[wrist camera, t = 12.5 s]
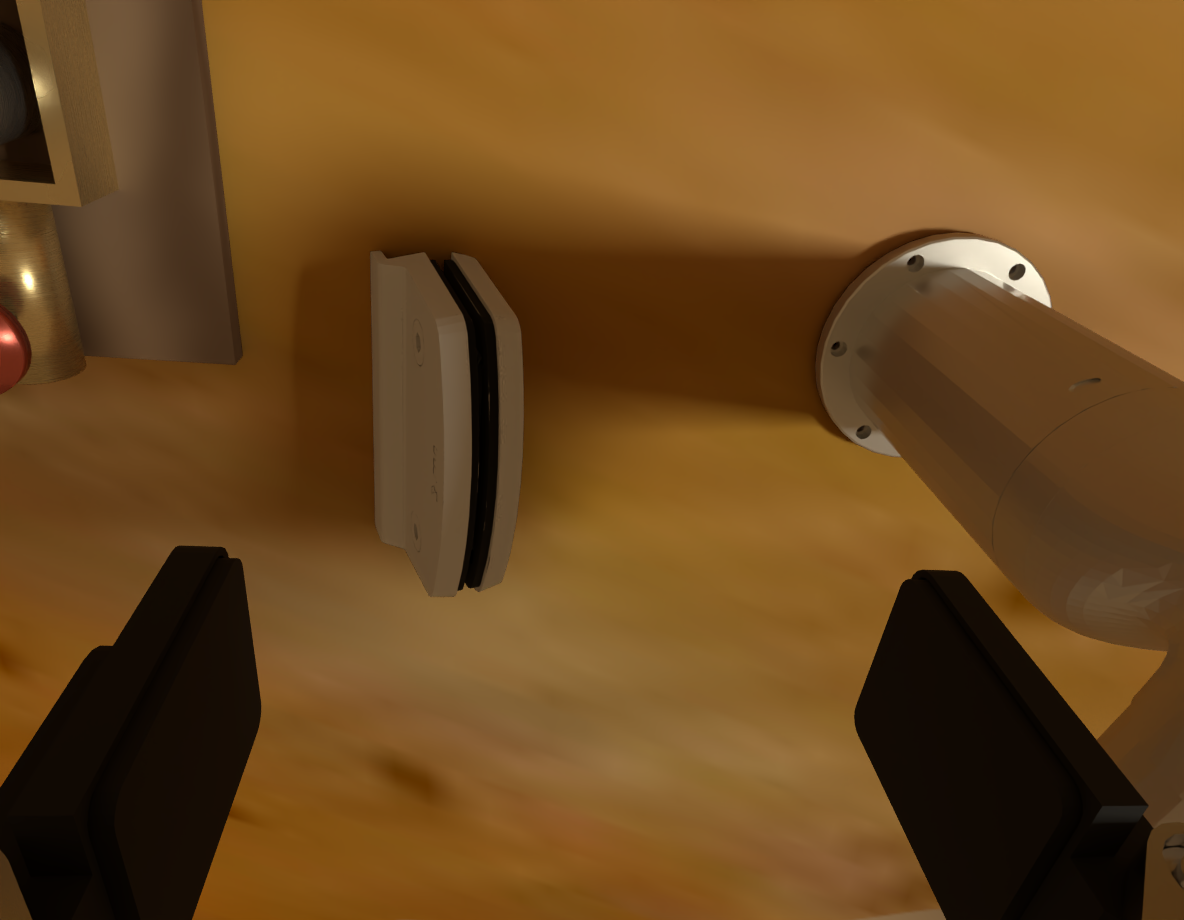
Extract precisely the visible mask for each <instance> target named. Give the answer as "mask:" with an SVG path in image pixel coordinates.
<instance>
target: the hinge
mask: <svg viewBox="0 0 1184 920" xmlns="http://www.w3.org/2000/svg"><path fill="white" fill-rule="evenodd" d="M370 270H371V326H372V383H373V439H374V495H375V526H376V529H377V532H378V534H379V537H380V540H381V541H382V542H383V543H386V544H389V545H393V546H396V547H399V548H402V549H404V550H405V551H406V553H407V555H408V556H409V558H410V560H411V562H412V564H413V566H414V568H415V570H416V572H417V574H418V576H419V578H420V580H421V581H422V583H423V585H424V587H425V589H426V591H427V593H428V595H429V596H430V597H454V596H456V594H457V591H459V590H462V589H463V587H464V583H466V585H467V587H468V588H475V590H476V591H478V592H480V591H483V590H485V589H487V588H490V587H492V586H494V585H497V584H499V583H501V582H502V579H503V576H504V573H505V570H506V567H507V563H508V560H509V556H510V552H511V547H512V542H513V536H514V531H515V526H516V520H517V512H518V503H519V495H520V486H521V473H522V459H523V427H524V383H523V357H522V337H521V329H520V324H519V321H518V318H517V316H516V315H515V313H514V312H513V311H512V309H511V308H510V306H509V305H508V304H507V302H506V301H505V299H504V298H503V296H502V295H501V294H500V292H499V291H498V289H497V288H496V287H495V285H494V284H493V282H492V281H491V279H490V278H489V277H488V275H487V274H486V272H485V271H484V270H483V268H482V267H481V265H480V264H479V262H478V261H477V260H476V258H473V257H470V256H467V255H463V254H458V253H454V252H451V260H444V274H443V272H442V271H441V269H440V267H439V266H438V264H437V262H436V261H435V260H429V258H428V257H427V255H426V253H425V252H422V253H417V254H411V255H406V256H401V257H395V258H390V259H387V258H386V257H385V255H384V254H383V253H382V252H381V251H371V252H370Z"/></svg>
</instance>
